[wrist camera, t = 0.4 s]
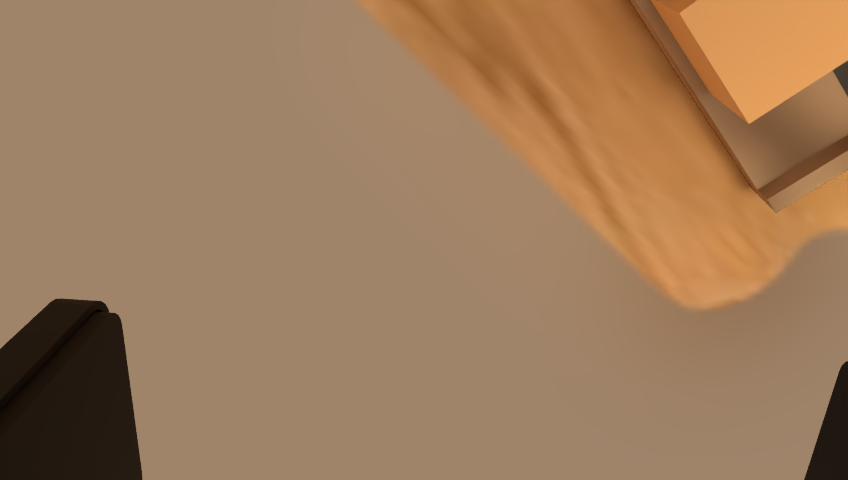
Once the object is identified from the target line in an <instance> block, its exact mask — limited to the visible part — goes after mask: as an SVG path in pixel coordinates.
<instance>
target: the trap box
mask: <svg viewBox="0 0 848 480" xmlns="http://www.w3.org/2000/svg"><path fill="white" fill-rule="evenodd" d="M630 2H631V3H632V5H633V6H634V8H635V10H636V11H637V13H638V14H639V16H640V17H641V19H642V20H643V22H644V23H645V25H646V26H647V28H648V30H649V31H650V33H651V34H652V36H653V37H654V39H655V40H656V42H657V43H658V45H659V47H660V48H661V50H662V51H663V53H664V54H665V56H666V57H667V59H668V60H669V62H670V63H671V65H672V67H673V68H674V70H675V71H676V73H677V74H678V76H679V77H680V79H681V80H682V82H683V83H684V85H685V87H686V88H687V90H688V91H689V93H690V94H691V96H692V97H693V99H694V100H695V102H696V103H697V105H698V107H699V108H700V110H701V111H702V113H703V114H704V116H705V117H706V119H707V120H708V122H709V123H710V125H711V127H712V128H713V130H714V131H715V133H716V134H717V136H718V137H719V139H720V140H721V142H722V143H723V145H724V147H725V148H726V150H727V151H728V153H729V154H730V156H731V157H732V159H733V160H734V162H735V163H736V165H737V167H738V168H739V170H740V171H741V173H742V174H743V176H744V177H745V179H746V180H747V182H748V183H749V185H750V187H751V188H752V189H753V190H754V191H755V192H756V193H757V194H758V195H759V196H760V197H761V198H762V199H763V200H764V201H765V202H766V203H767V204H768V205H769V206H770V207H771V208H772V209H773V210H774V211H775V212H776V213H777V212H778V211H780V210H782V209H783V208H785V207H787V206H788V205H790V204H792V203H793V202H795V201H797V200H798V199H800V198H802V197H803V196H805V195H807V194H808V193H810V192H812V191H814V190H815V189H817V188H819V187H820V186H822V185H824V184H825V183H827V182H829V181H830V180H832V179H834V178H835V177H837V176H839V175H840V174H842V173H844V172H845V171H847V170H848V61H846V62H845V63H843V64H841V65H840V66H838V67H837V68H835V69H834V70H832V71H831V72H829V73H827V74H826V75H824V76H823V77H821V78H820V79H818V80H817V81H815V82H813V83H812V84H810V85H809V86H807V87H806V88H804V89H803V90H801V91H800V92H798V93H796V94H795V95H793V96H792V97H790V98H789V99H787V100H786V101H784V102H782V103H781V104H779V105H778V106H776V107H775V108H773V109H772V110H770V111H768V112H767V113H765V114H764V115H762V116H761V117H759V118H758V119H756V120H754V121H753V122H751V123H750V124H748V123H747V122H746V121H745V120H743V119H742V118H741V117H739V116H738V115H737V114H736V113H734V112H733V111H732V110H731V109H729V108H728V107H727V106H726V105H724V104H723V103H722V102H721V101H719V100H718V99H717V98H716V97H714V96H713V95H712V94H711V93H710V92H709V91H708V89H707V88H706V86H705V85H704V83H703V81H702V80H701V78H700V77H699V75H698V74H697V72H696V70H695V69H694V67H693V66H692V64H691V63H690V61H689V60H688V58H687V56H686V55H685V53H684V52H683V50H682V49H681V47H680V45H679V44H678V42H677V41H676V39H675V38H674V36H673V35H672V33H671V31H670V30H669V28H668V27H667V25H666V24H665V22H664V20H663V19H662V17H661V16H660V14H659V13H658V11H657V10H656V8H655V6H654V5H653V3H652V2H651V0H630Z"/></svg>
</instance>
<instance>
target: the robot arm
mask: <svg viewBox="0 0 848 480" xmlns="http://www.w3.org/2000/svg"><path fill="white" fill-rule="evenodd" d="M0 480H142V470H141V463H140V455H139V448H138V440H137V433H136V425H135V418H134V410H133V403H132V396H131V388H130V381H129V373H128V366H127V360H126V351H125V344H124V336H123V329H122V323H121V319H120V317H119V316H118V315H117V314H116V313H109V310H108V308H107V306H106V304H104V303H103V302H101V301H88V300H74V299H55V300H53V301H52V302H50V303H49V304H48V305H47V306H46V307H45V308H44V309H43V310H42V311H41V312H40V313H38V314H37V315H36V316H35V317H34V318H33V319H32V320H31V321H30V322H29V323H28V324H27V325H26V326H24V327H23V328H22V329H21V330H20V331H19V332H18V333H17V334H16V335H15V336H14V337H13V338H12V339H10V340H9V341H8V342H7V343H6V344H5V345H4V346H3V347H2V348H1V349H0ZM804 480H848V361H847V362H845V363H844V364H843V365H842V367H841V369H840V371H839V374H838V377H837V380H836V383H835V386H834V389H833V392H832V396H831V399H830V402H829V405H828V408H827V411H826V414H825V417H824V420H823V424H822V427H821V430H820V433H819V436H818V439H817V442H816V445H815V448H814V451H813V454H812V457H811V461H810V464H809V467H808V470H807V473H806V476H805V479H804Z"/></svg>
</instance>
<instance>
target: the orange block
mask: <svg viewBox="0 0 848 480" xmlns="http://www.w3.org/2000/svg"><path fill="white" fill-rule="evenodd" d="M651 2H652V3H653V5H654V6H655V8H656V10H657V11H658V13H659V14H660V16H661V17H662V19H663V20H664V22H665V24H666V25H667V27H668V28H669V30H670V31H671V33H672V35H673V36H674V38H675V39H676V41H677V42H678V44H679V45H680V47H681V49H682V50H683V52H684V53H685V55H686V56H687V58H688V60H689V61H690V63H691V64H692V66H693V67H694V69H695V70H696V72H697V74H698V75H699V77H700V78H701V80H702V81H703V83H704V85H705V86H706V88H707V89H708V91H709V92H710V93H711V94H712V95H713V96H714V97H716V98H717V99H718V100H719V101H721V102H722V103H723V104H724V105H726V106H727V107H728V108H729V109H731V110H732V111H733V112H734V113H736V114H737V115H738V116H739V117H741V118H742V119H743V120H745V121H746V122H747V123H748V124H750V123H751V122H753V121H754V120H756V119H758V118H759V117H761V116H762V115H764V114H765V113H767V112H768V111H770V110H772V109H773V108H775V107H776V106H778V105H779V104H781V103H782V102H784V101H786V100H787V99H789V98H790V97H792V96H793V95H795V94H796V93H798V92H800V91H801V90H803V89H804V88H806V87H807V86H809V85H810V84H812V83H813V82H815V81H817V80H818V79H820V78H821V77H823V76H824V75H826V74H827V73H829V72H831V71H832V70H834V69H835V68H837V67H838V66H840V65H841V64H843V63H845V62H846V61H848V0H651Z"/></svg>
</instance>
